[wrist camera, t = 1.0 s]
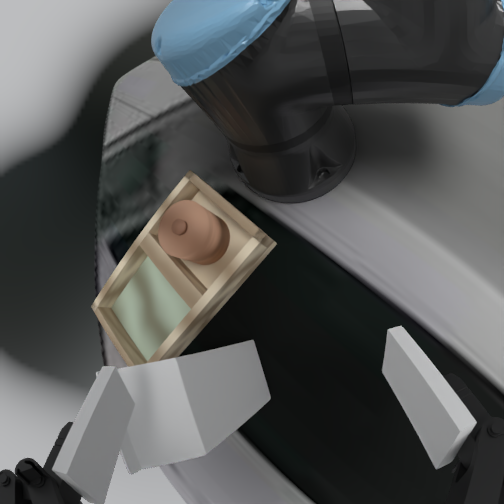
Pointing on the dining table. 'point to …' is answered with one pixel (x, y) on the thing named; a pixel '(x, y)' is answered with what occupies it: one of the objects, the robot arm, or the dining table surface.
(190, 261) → the caddy
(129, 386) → the milk carton
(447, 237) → the dining table surface
